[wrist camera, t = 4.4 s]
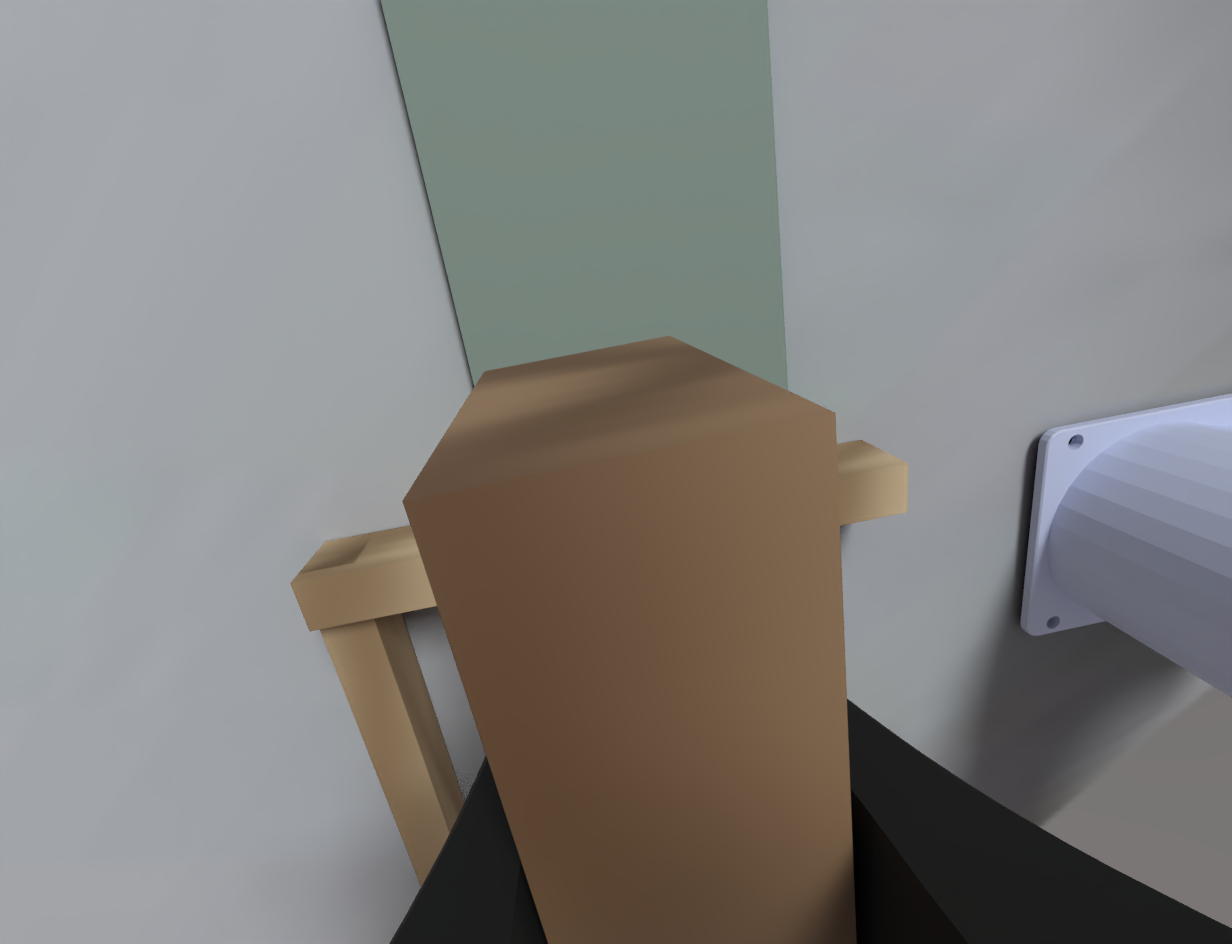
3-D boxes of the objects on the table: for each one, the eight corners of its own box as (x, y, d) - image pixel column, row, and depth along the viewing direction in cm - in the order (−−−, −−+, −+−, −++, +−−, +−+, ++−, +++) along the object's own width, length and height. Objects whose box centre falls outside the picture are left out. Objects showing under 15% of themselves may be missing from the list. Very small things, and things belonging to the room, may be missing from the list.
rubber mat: (736, -432, 12) (742, -456, 11) (784, 416, 18) (789, 419, 17) (288, -392, 11) (279, -415, 11) (496, 469, 17) (495, 473, 17)
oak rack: (861, 439, 18) (908, 463, 16) (865, 863, 25) (898, 924, 22) (325, 541, 17) (290, 583, 15) (477, 956, 24) (469, 1030, 21)
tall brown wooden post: (669, 336, 9) (835, 412, 4) (740, 855, 13) (868, 1229, 8) (484, 371, 9) (403, 500, 4) (614, 886, 13) (661, 1287, 8)
